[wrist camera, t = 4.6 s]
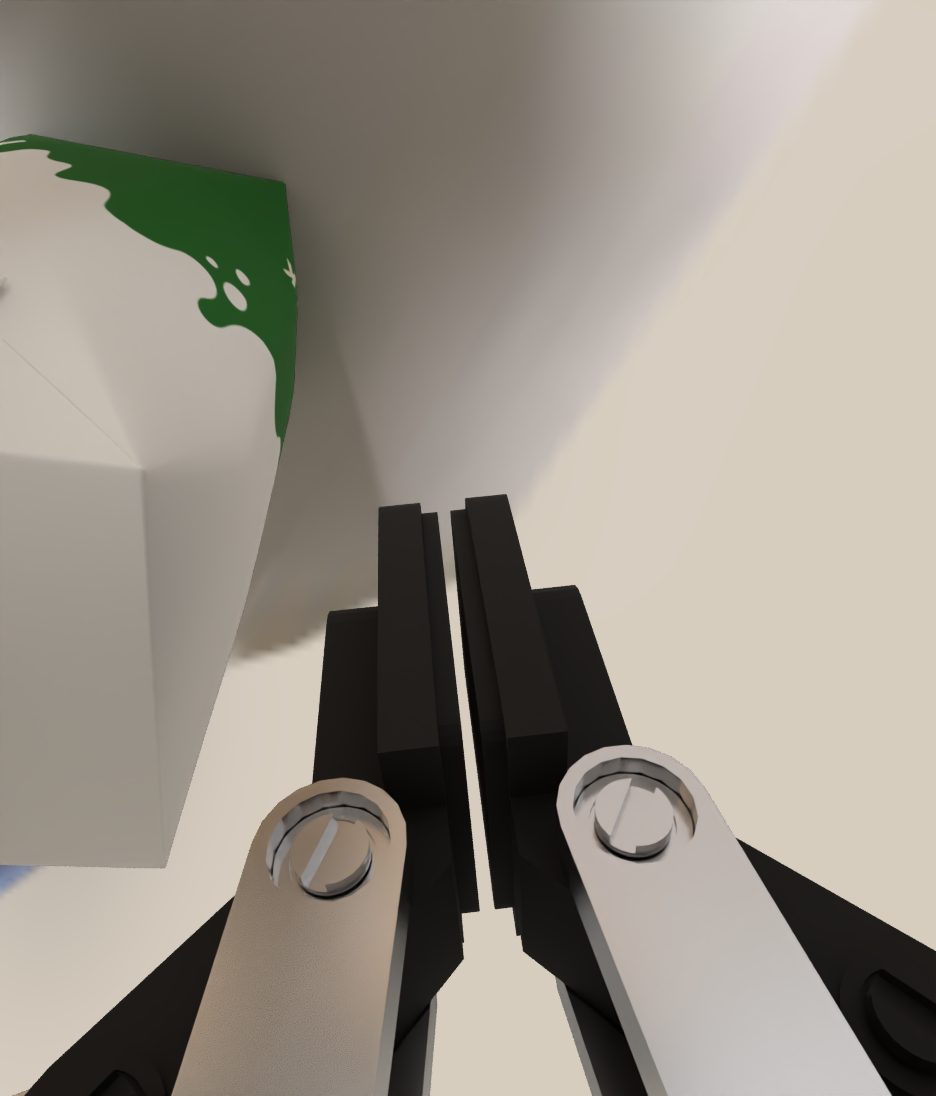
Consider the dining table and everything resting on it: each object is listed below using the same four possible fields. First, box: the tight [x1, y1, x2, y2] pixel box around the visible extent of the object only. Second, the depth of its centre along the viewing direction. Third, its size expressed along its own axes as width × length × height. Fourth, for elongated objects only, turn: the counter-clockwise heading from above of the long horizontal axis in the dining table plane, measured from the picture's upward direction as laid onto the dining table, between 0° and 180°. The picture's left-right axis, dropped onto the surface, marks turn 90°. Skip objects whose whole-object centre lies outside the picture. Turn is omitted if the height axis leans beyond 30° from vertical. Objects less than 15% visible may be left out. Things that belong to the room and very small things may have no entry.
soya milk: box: [0, 134, 298, 868], centre depth 16 cm, size 9×9×20 cm
